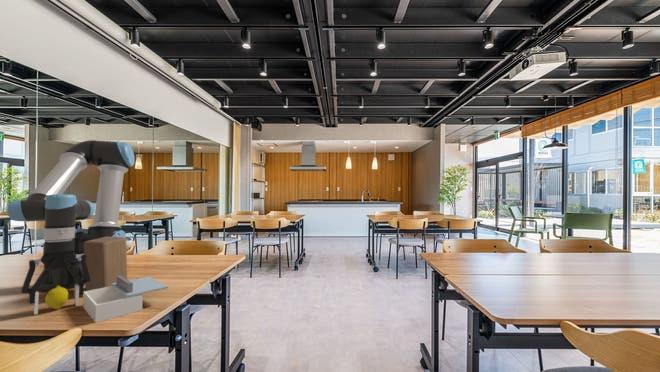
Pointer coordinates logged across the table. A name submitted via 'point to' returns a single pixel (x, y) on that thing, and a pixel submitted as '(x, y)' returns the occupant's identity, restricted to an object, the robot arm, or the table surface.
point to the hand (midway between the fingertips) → (56, 308)
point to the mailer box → (110, 303)
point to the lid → (137, 286)
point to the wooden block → (105, 261)
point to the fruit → (57, 297)
